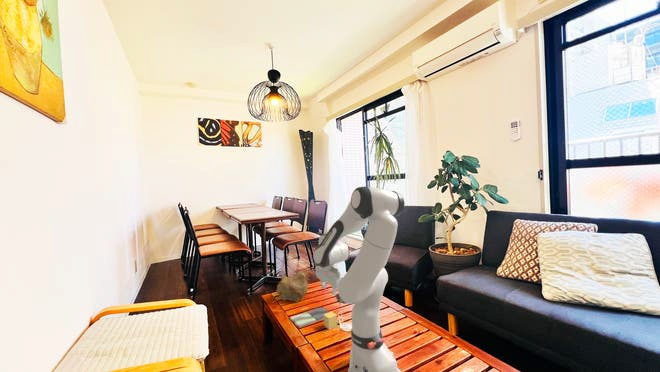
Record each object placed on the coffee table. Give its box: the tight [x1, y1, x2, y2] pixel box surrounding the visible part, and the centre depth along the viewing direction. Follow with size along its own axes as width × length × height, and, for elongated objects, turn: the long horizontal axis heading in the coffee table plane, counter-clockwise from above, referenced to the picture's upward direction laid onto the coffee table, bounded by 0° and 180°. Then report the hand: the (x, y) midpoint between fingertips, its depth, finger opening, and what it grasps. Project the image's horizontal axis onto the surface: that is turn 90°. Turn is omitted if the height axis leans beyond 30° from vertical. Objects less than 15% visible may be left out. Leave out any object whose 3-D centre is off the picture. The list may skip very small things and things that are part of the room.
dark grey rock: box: [335, 292, 348, 305], centre depth 174 cm, size 19×4×15 cm
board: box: [289, 306, 330, 329], centre depth 149 cm, size 12×21×1 cm, turn 122°
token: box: [323, 311, 338, 331], centre depth 139 cm, size 5×5×6 cm
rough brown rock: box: [275, 271, 309, 303], centre depth 175 cm, size 23×17×15 cm
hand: (328, 291), depth 139 cm, fingers open, 8 cm apart
